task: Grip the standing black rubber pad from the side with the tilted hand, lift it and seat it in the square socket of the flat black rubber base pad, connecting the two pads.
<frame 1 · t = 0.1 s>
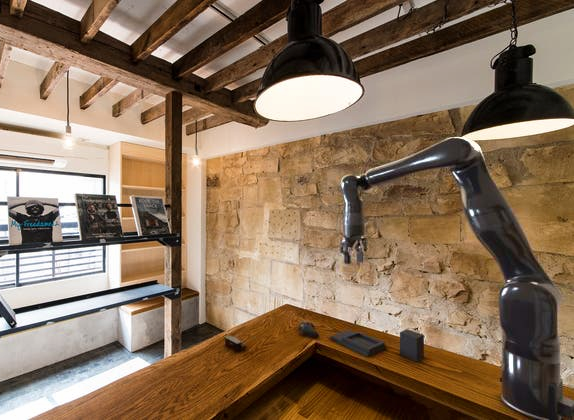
hand: (353, 263, 106), 29 cm above the worktop, tool pointing down, fingers open, 8 cm apart
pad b: (411, 356, 90), on the worktop
wireless earbuds: (236, 348, 95), on the worktop
pad a: (357, 343, 99), on the worktop
game controller: (308, 332, 108), on the worktop
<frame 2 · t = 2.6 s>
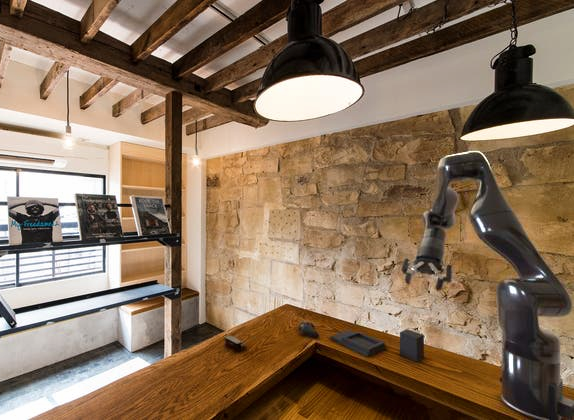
hand: (422, 286, 96), 23 cm above the worktop, tool tilted 40°, fingers open, 8 cm apart
nothing on the worktop moved.
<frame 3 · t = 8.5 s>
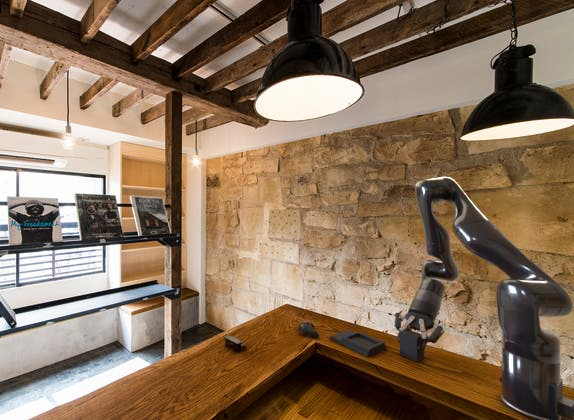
hand: (409, 345, 89), 4 cm above the worktop, tool tilted 45°, fingers closed on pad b, 5 cm apart
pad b: (411, 356, 90), on the worktop, touching gripper
everything else where it was.
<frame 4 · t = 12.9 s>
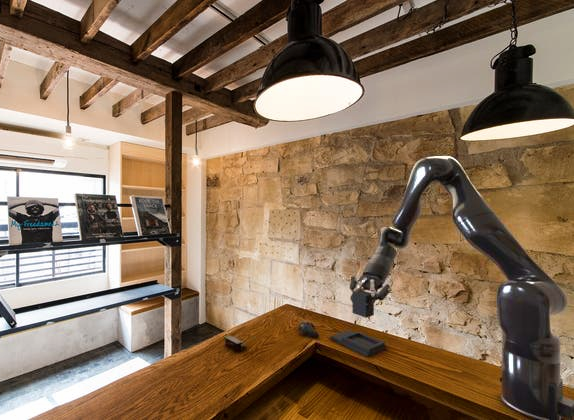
hand: (360, 303, 96), 16 cm above the worktop, tool tilted 45°, fingers closed on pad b, 5 cm apart
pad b: (363, 314, 97), point 12 cm above the worktop, touching gripper
everything else where it was.
when the fingers open (5 cm above the worktop, at t = 17.3 s): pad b stays where it is, resting on pad a.
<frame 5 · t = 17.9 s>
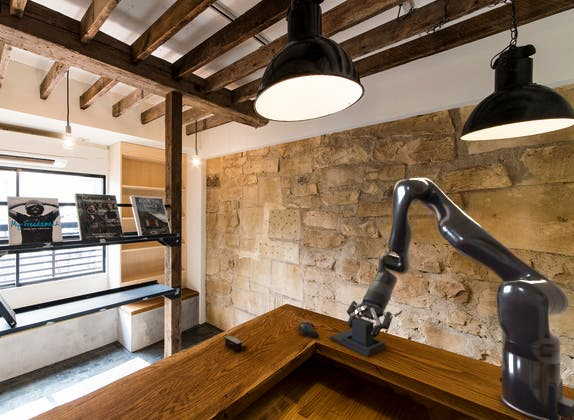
hand: (360, 331, 96), 6 cm above the worktop, tool tilted 45°, fingers open, 8 cm apart
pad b: (362, 342, 97), point 1 cm above the worktop, touching pad a
everything else where it was.
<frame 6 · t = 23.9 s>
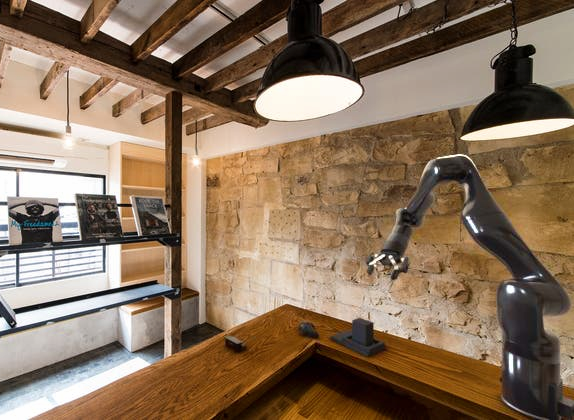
hand: (380, 276, 102), 25 cm above the worktop, tool tilted 45°, fingers open, 8 cm apart
nothing on the worktop moved.
at the end: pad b 0.1 cm from the target spot on the pad a, point 1.2 cm above the pad a's base; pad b tilted 0°; the gripper is holding nothing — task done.
